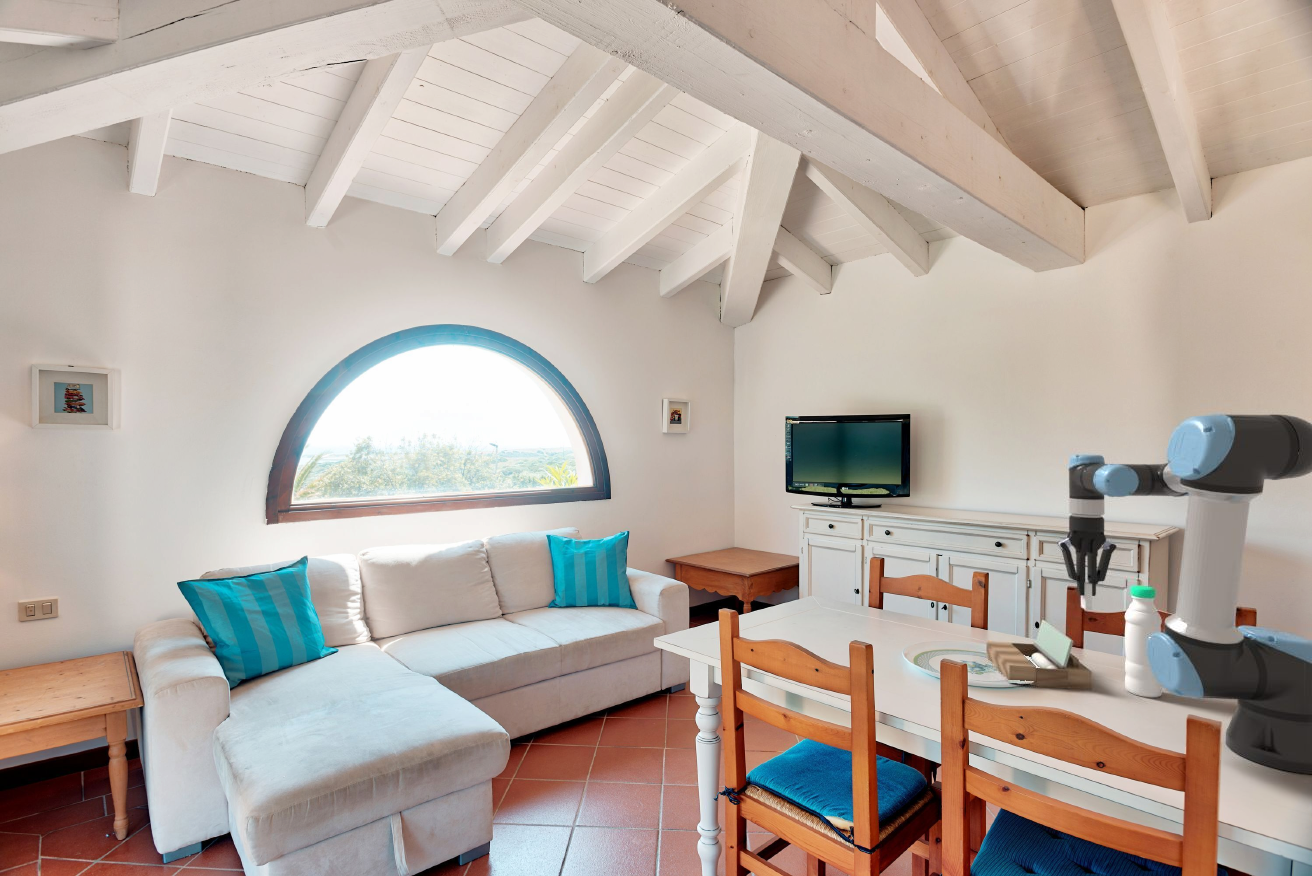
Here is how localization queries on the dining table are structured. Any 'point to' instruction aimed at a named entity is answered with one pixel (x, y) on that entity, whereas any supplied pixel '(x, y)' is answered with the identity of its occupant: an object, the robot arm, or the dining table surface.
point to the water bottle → (1141, 642)
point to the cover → (1053, 644)
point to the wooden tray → (1020, 668)
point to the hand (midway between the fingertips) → (1086, 608)
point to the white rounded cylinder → (1042, 661)
